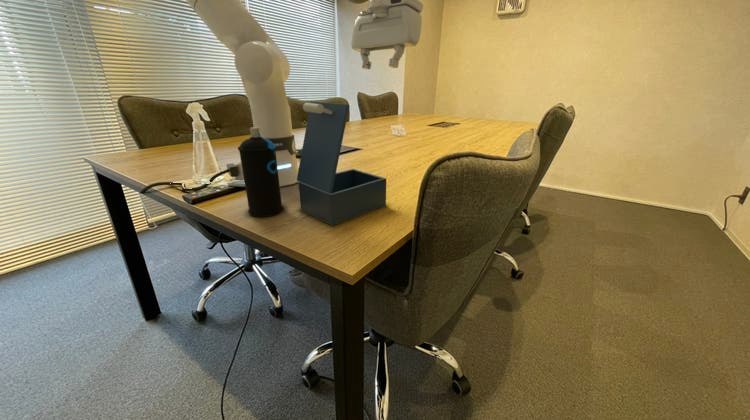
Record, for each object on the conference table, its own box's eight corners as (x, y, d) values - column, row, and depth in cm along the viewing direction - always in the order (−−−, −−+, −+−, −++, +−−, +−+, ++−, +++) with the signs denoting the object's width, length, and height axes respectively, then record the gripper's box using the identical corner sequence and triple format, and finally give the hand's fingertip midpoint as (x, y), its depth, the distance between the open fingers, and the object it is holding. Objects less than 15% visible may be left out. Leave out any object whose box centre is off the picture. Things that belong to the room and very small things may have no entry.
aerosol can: (246, 219, 70) (231, 131, 62) (249, 206, 77) (236, 125, 70) (283, 215, 72) (273, 129, 65) (283, 203, 80) (274, 124, 72)
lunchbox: (353, 193, 87) (353, 168, 84) (385, 205, 79) (386, 178, 76) (300, 210, 75) (298, 182, 72) (332, 226, 67) (330, 195, 64)
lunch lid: (313, 102, 69) (294, 95, 66) (349, 105, 61) (330, 98, 58) (299, 180, 73) (280, 178, 69) (331, 193, 64) (312, 191, 61)
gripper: (348, 7, 76) (343, 66, 80) (411, -9, 63) (401, 63, 66) (366, 16, 81) (360, 72, 84) (429, 3, 67) (418, 69, 71)
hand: (379, 68), depth 75 cm, fingers open, 8 cm apart
